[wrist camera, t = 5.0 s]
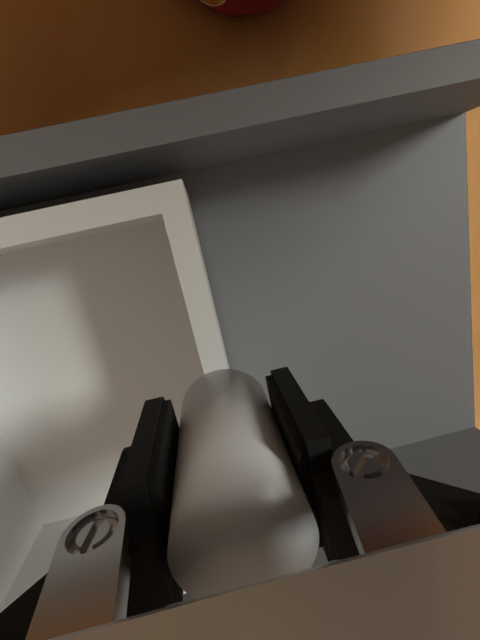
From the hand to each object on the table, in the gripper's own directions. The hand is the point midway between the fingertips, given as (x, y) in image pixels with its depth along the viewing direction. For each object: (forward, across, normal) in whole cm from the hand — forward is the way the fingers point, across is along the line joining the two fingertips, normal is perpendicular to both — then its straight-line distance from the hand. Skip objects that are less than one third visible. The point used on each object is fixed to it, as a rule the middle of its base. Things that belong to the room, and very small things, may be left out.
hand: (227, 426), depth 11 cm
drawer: (+7, +5, 0) cm, 9 cm away
